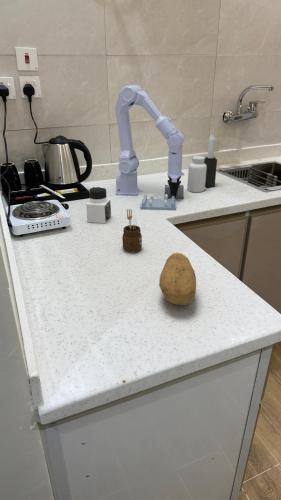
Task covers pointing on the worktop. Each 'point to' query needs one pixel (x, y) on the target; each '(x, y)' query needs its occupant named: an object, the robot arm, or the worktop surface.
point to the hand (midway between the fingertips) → (173, 194)
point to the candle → (210, 163)
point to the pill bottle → (197, 174)
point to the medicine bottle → (98, 206)
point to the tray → (158, 203)
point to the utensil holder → (131, 236)
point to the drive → (179, 193)
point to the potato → (178, 280)
